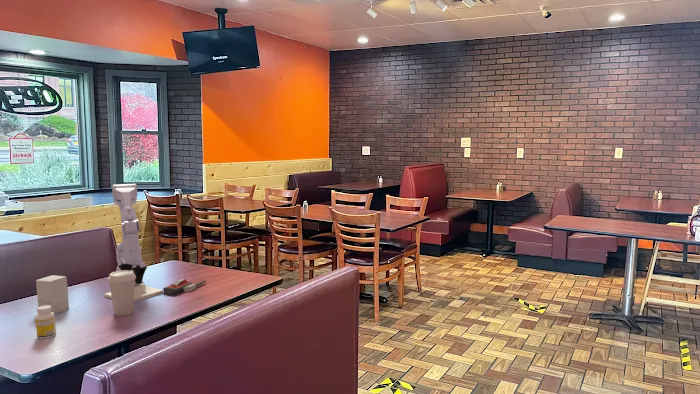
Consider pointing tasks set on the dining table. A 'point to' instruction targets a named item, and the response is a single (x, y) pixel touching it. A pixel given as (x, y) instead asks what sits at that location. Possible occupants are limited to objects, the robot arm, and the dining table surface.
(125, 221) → the robot arm
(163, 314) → the dining table surface
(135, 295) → the jack stand base
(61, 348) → the dining table surface
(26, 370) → the dining table surface
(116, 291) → the coffee cup
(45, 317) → the supplement bottle
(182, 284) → the walkie-talkie
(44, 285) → the supplement box
